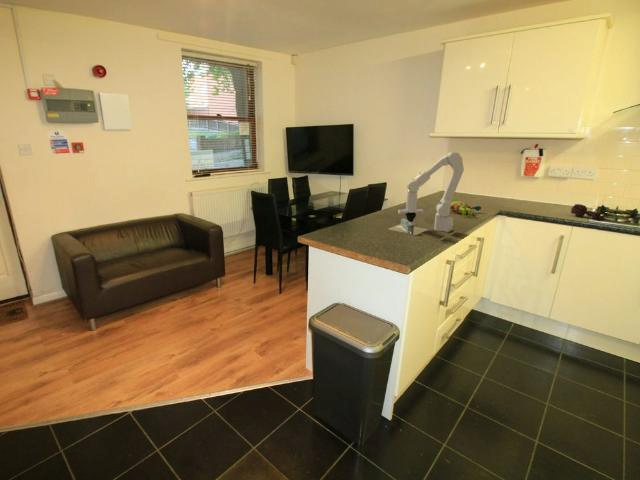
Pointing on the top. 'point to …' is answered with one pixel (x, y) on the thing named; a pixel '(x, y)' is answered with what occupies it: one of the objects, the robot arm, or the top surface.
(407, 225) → the swing arm
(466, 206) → the toy
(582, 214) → the figurine
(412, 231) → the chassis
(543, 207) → the top surface
